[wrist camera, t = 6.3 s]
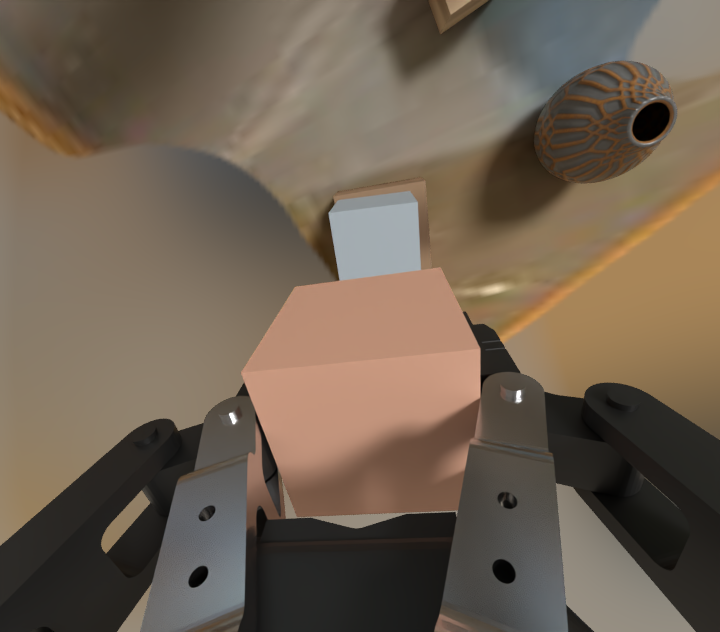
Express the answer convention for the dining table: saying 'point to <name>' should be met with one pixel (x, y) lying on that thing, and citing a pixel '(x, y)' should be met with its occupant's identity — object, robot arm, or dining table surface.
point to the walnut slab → (413, 185)
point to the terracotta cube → (369, 394)
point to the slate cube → (376, 235)
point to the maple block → (452, 11)
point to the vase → (604, 122)
